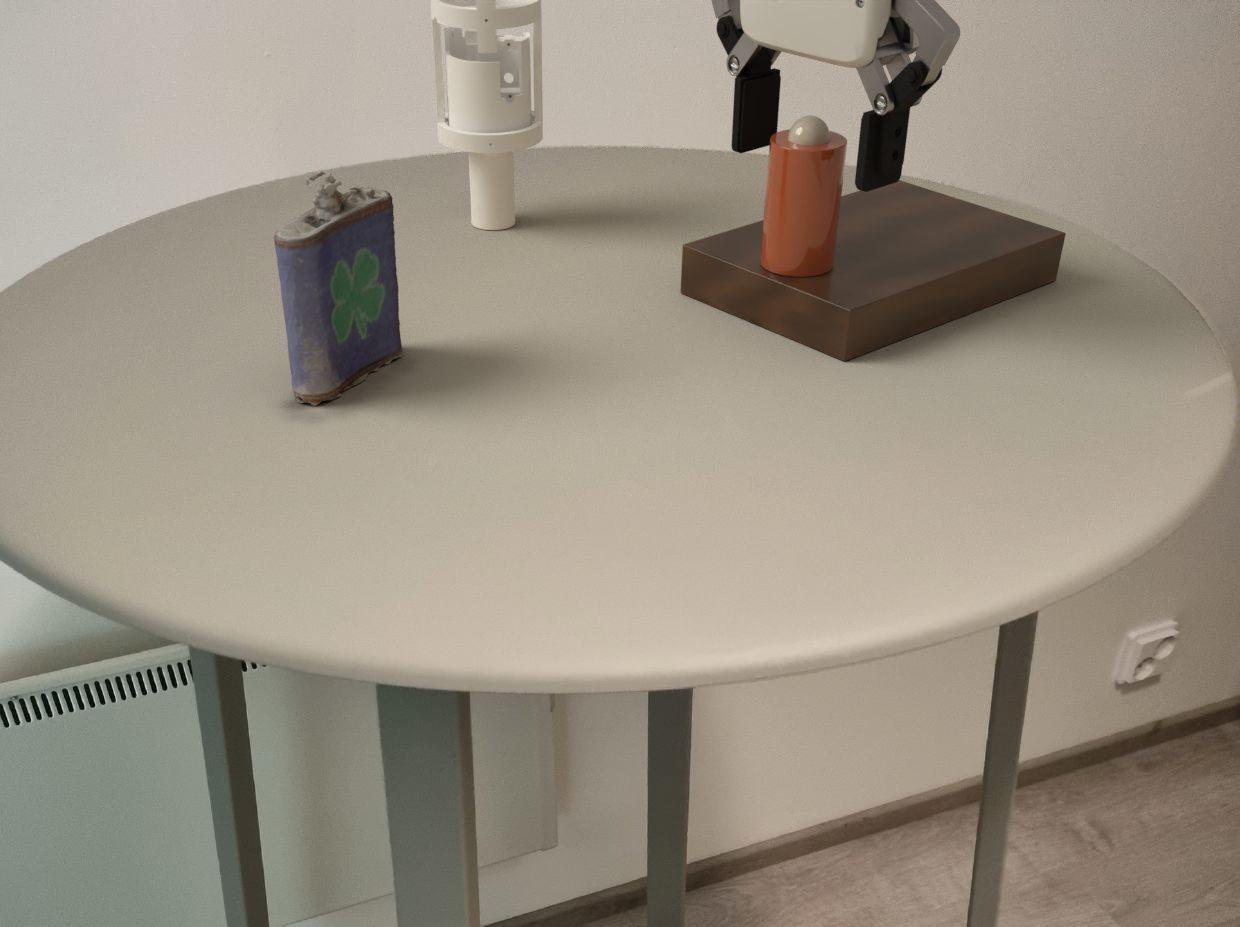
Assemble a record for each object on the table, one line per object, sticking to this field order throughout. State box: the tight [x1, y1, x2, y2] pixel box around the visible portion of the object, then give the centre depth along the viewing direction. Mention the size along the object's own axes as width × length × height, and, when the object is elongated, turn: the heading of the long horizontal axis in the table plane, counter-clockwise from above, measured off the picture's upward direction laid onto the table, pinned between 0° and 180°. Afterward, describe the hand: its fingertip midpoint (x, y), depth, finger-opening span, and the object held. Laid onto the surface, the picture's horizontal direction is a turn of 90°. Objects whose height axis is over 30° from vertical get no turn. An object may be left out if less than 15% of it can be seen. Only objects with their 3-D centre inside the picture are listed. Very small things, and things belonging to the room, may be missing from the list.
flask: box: [273, 170, 403, 406], centre depth 82 cm, size 9×3×11 cm, turn 151°
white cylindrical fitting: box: [429, 0, 544, 231], centre depth 100 cm, size 7×7×15 cm
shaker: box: [760, 115, 848, 277], centre depth 88 cm, size 4×4×8 cm
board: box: [680, 179, 1067, 362], centre depth 95 cm, size 14×20×3 cm
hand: (813, 166), depth 87 cm, fingers open, 9 cm apart
